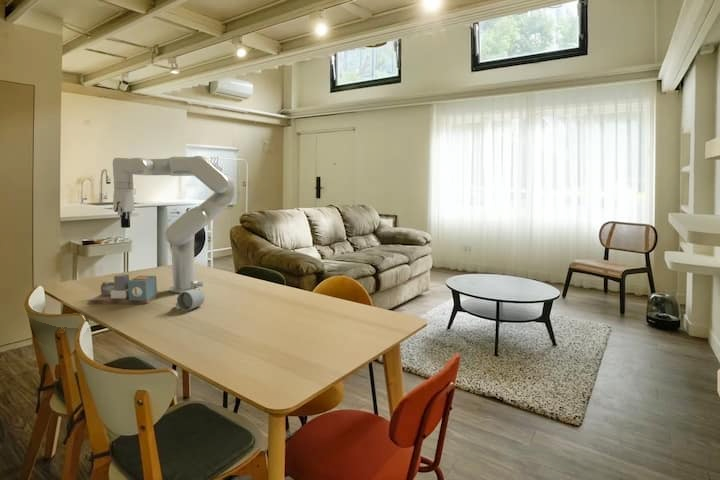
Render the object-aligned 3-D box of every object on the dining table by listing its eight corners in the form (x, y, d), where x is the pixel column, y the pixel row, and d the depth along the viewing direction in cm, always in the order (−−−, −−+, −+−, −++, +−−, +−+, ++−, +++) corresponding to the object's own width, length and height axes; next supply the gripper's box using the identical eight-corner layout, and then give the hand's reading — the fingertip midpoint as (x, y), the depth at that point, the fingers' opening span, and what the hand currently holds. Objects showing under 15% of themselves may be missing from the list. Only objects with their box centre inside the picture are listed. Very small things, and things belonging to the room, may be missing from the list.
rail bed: (157, 297, 185) (156, 282, 184) (146, 303, 175) (145, 287, 174) (102, 297, 184) (101, 281, 183) (89, 303, 174) (88, 287, 173)
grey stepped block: (134, 294, 183) (132, 273, 181) (125, 298, 176) (124, 277, 174) (119, 294, 182) (118, 273, 181) (111, 298, 175) (109, 277, 174)
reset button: (149, 283, 181) (149, 276, 180) (145, 285, 177) (145, 278, 176) (140, 283, 181) (139, 276, 180) (135, 285, 177) (135, 278, 176)
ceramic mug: (206, 306, 173) (205, 287, 172) (193, 311, 165) (192, 292, 164) (184, 304, 176) (183, 286, 175) (170, 309, 168) (169, 290, 167)
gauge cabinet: (157, 293, 185) (156, 275, 183) (145, 300, 174) (144, 281, 173) (140, 293, 184) (139, 275, 183) (128, 300, 174) (127, 281, 173)
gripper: (123, 185, 195) (125, 225, 198) (105, 186, 181) (108, 229, 183) (140, 186, 196) (141, 226, 198) (124, 186, 181) (126, 229, 184)
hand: (125, 227), depth 191 cm, fingers closed
